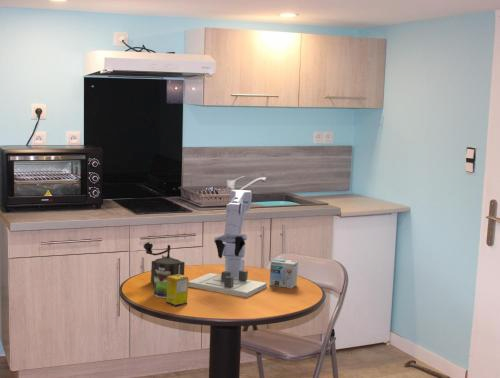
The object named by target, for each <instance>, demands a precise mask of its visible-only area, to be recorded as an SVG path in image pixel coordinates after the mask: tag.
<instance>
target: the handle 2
mask: <svg viewBox="0 0 500 378" xmlns="http://www.w3.org/2000/svg"><path fill="white" fill-rule="evenodd" d="M248 273H249V271H248V270H245V269H244V270H240V271H239V280H241V281H246V280H248V277H249V275H248Z"/></svg>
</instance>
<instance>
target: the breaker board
mask: <svg viewBox="0 0 500 378" xmlns="http://www.w3.org/2000/svg"><path fill="white" fill-rule="evenodd" d="M221 275H222V274H218V273H211V272H209V273H207V274H203V275H202V276H201V275H200V276H199V277H197V278H194V279H192V280H188V288H189V287H190V288H194V289H195V288H196V289H200V290H205V291H211V292H216V293H221V294H226V295H231V296H237V297H242V298H249V297H251V296H253V295H255V294H257V293H259V292H261V291H263V290H264V289H267V287H268V282H263V281H257V280H251V279H247V280H246V281H241V280H239V278H235V277H234V283H233V287H231V288H230V287H224V282H222V281H221Z"/></svg>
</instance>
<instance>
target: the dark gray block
mask: <svg viewBox="0 0 500 378" xmlns="http://www.w3.org/2000/svg"><path fill="white" fill-rule="evenodd" d="M220 275H221V281H222V282H224V281H225V277H226V276H230V272H226V271H225V270H223V271H221V274H220Z"/></svg>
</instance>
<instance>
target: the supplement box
mask: <svg viewBox="0 0 500 378" xmlns="http://www.w3.org/2000/svg"><path fill="white" fill-rule="evenodd" d="M188 282H189V276H187V275H184V276H183V275H181V274H177V275H171V276H167V298H166V304H167V305H170V306H173V307H175V308H176V307H180V306H185V305H188V288H189V287H188Z"/></svg>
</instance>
